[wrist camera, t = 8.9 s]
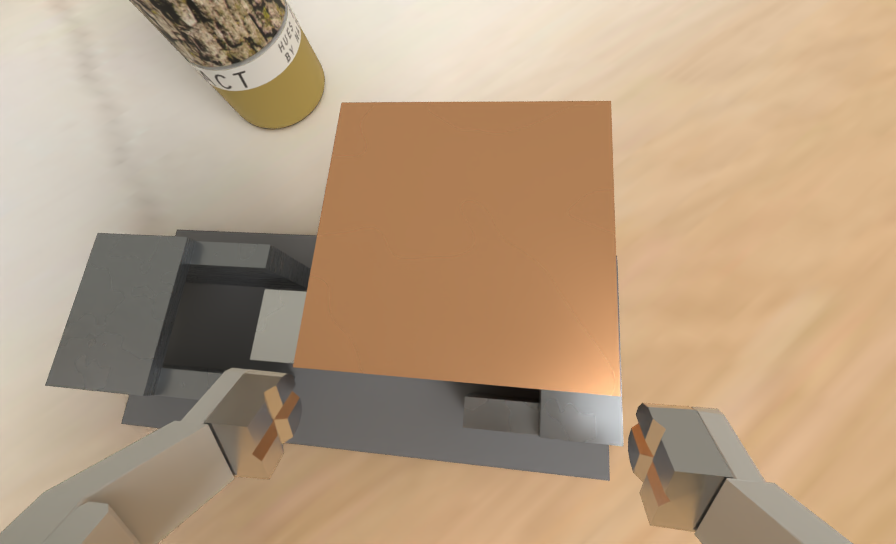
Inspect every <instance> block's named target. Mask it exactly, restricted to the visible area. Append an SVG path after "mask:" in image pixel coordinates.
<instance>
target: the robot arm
mask: <svg viewBox="0 0 896 544" xmlns="http://www.w3.org/2000/svg"><path fill="white" fill-rule="evenodd" d="M295 385H296V384H295V381H294V378H293V375H291V374H287V373H279V372H270V371H261V370H252V369H250V370H249V369H240V368H230V369H228V370H226V371H225V372H224V373H223V374H222V375H221V376H220V377H219V378H218V380H217V381H216V382H215V383H214V384H213V385H212V386H211V387H210V389H209V390H208V391H207V392H206V393H205V394H204V395H203V396H202V398H201V399H200V400H199V401H198V402H197V403H196V404H195V405H194V407H193V408H192V409H191V410H190V411H189V412H188V413H187V414H186V416H185V417H184V418H183V419H182V420H181V421H173V422H171V423H169V424H167V425H166V426H164V427H162V428H160V429H158V430H157V431H155V432H153V433H151V434H149V435H147V436H146V437H144V438H142V439H140V440H138V441H136V442H135V443H133V444H131V445H129V446H127V447H126V448H124V449H122V450H120V451H118V452H116V453H115V454H113V455H111V456H109V457H107V458H105V459H104V460H102V461H100V462H98V463H96V464H95V465H93V466H91V467H89V468H87V469H85V470H84V471H82V472H80V473H78V474H76V475H74V476H73V477H71V478H69V479H67V480H65V481H64V482H62V483H60V484H58V485H56V486H54V487H53V488H51V489H49V490H47V491H45V492H44V493H42V494H41V495H40V496H39V497H38V498H37V499H36V500H35V501H34V502H33V503H32V504H31V505H30V506H29V507H28V508H27V509H25V510H24V511H23V512H22V513H21V514H20V515H19V516H18V517H17V518H16V519H15V520H14V521H13V522H12V523H11V524H10V525H9V526H8V527H6V528H5V529H4V530H3V531H2V532H1V533H0V544H158V543H159V542H160V541H161V540H162V539H164V538H165V537H166V536H167V535H168V534H169V533H171V532H172V531H173V530H174V529H175V528H177V527H178V526H179V525H180V524H181V523H183V522H184V521H185V520H186V519H187V518H188V517H190V516H191V515H192V514H193V513H194V512H196V511H197V510H198V509H199V508H200V507H202V506H203V505H204V504H205V503H206V502H207V501H209V500H210V499H211V498H212V497H213V496H215V495H216V494H217V493H218V492H219V491H221V490H222V489H223V488H224V487H225V486H227V485H228V484H229V483H230V482H231V481H232V480H234V476H235V477H246V478H257V479H268V480H269V479H270V477H271V476H272V474H273V472H274V470H275V468H276V467H277V465H278V463H279V461H280V459H281V458H282V456H283V454H284V451H283V443H285V442H286V441H288V440H289V439H290V438H292V437H293V436H294V434H295V432H296V430H297V428H298V426H299V423H300V419H301V415H302V404H301V400H300V397H299V396H297V395H296V394H295V393H294V392H293V391H292V390H293V389H294V387H295ZM636 416H637V419H638V422H639V423H638V424H637V425H635V426H634V427H632V428H631V431H630V435H629V438H628V452H629V458H630V463H631V466H632V470H633V473H634V474H635V475H636V476H637V477H638V478H639V479H640V480H641V481H642V482H643V485H642V488H641V490H640V496H641V499H642V502H643V505H644V508H645V511H646V514H647V518H648V521H649V524H650V525H651V526H658V527H664V528H671V529H678V530H685V531H691V532H695V536H696V537H697V538H698V539H699V540H700V542H701V543H702V544H853V543H852V542H850V541H849V540H848V539H846V538H845V537H844V536H842V535H841V534H840V533H839V532H837V531H836V530H835V529H833V528H832V527H831V526H829V525H828V524H827V523H826V522H824V521H823V520H822V519H820V518H819V517H818V516H816V515H815V514H814V513H813V512H811V511H810V510H809V509H807V508H806V507H805V506H803V505H802V504H801V503H800V502H798V501H797V500H796V499H794V498H793V497H792V496H790V495H789V494H788V493H787V492H785V491H784V490H783V489H781V488H780V487H779V486H777V485H776V484H775V483H770V482H766V481H765V480H764V478H763V477H762V475H761V473H760V472H759V470H758V469H757V467H756V465H755V464H754V462H753V461H752V459H751V457H750V456H749V454H748V453H747V451H746V449H745V448H744V446H743V444H742V443H741V441H740V440H739V438H738V436H737V435H736V433H735V432H734V430H733V428H732V427H731V425H730V424H729V422H728V420H727V419H726V417H725V416H724V414H723V413H722V412H721V411H720V410H718V409H714V408H701V407H689V406H677V405H664V404H650V403H642V404H641V405H640V406H639V407H638V410H637V413H636Z"/></svg>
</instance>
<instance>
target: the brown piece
mask: <svg viewBox="0 0 896 544" xmlns="http://www.w3.org/2000/svg"><path fill="white" fill-rule="evenodd" d="M250 360H260V361H271V362H283V363H294V364H293V367H296V368H307V369H318V370H330V371H341V372H352V373H363V374H374V375H386V376H397V377H408V378H419V379H431V380H442V381H453V382H464V383H475V384H487V385H498V386H509V387H520V388H531V389H543V390H554V391H565V392H576V393H587V394H599V395H610V396H621V392H620V362H619V331H618V301H617V271H616V240H615V210H614V179H613V149H612V118H611V101H538V102H366V103H342V104H341V109H340V114H339V120H338V125H337V131H336V136H335V142H334V147H333V152H332V158H331V163H330V169H329V174H328V179H327V185H326V190H325V196H324V201H323V207H322V212H321V217H320V223H319V228H318V234H317V239H316V244H315V250H314V255H313V261H312V266H311V271H310V277H309V282H308V288H307V292H303V291H287V290H271V289H265V291H264V296H263V300H262V305H261V310H260V314H259V319H258V324H257V328H256V333H255V338H254V342H253V347H252V352H251V356H250Z"/></svg>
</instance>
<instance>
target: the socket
mask: <svg viewBox="0 0 896 544" xmlns="http://www.w3.org/2000/svg"><path fill="white" fill-rule="evenodd" d="M616 271H617V301H618V331H619V362H620V392H621V396H610V395H599V394H587V393H576V392H565V391H554V390H543V389H539V399H538V398H527V397H517V396H506V395H495V394H484V393H473V392H471V393H469V394H468V395H466V396H465V402H464V417H463V428H473V429H482V430H492V431H501V432H511V433H521V434H530V435H539V437H540V438H548V439H558V440H567V441H577V442H586V443H596V444H605V445H615V446H623V415H622V385H621V355H620V325H619V296H618V266H617V256H616Z"/></svg>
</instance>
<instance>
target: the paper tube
mask: <svg viewBox="0 0 896 544" xmlns="http://www.w3.org/2000/svg"><path fill="white" fill-rule="evenodd" d="M130 1H131V2H132V3H133V4H134V5H135V7H136V8H137V9H138V10H139V11H140V12H141V13H142V14H143V15H144V16H145V17H146V18H147V19H148V20H149V21H150V22H151V23H152V24H153V25H154V26H155V27H156V28H157V29H158V31H159V32H160V33H161V34H162V35H163V36H164V37H165V38H166V39H167V40H168V41H169V42H170V43H171V44H172V45H173V46H174V47H175V48H176V49H177V50H178V51H179V52H180V53H181V55H182V56H183V57H185V59H186V60H187V61H188V62H189V63H190V64H191V65H192V66H193V67H194V68H195V69H196V70H197V71H198V72H199V73H200V74H201V75H202V76H203V77H204V79H205V80H206V81H208V82H209V83H210V84H211V85H212V86H213V87H214V88H215V89H216V90H217V92H218V93H219V94H220V95H221V96H222V97H223V98H224V99H225V100H226V101H227V102H228V103H229V104H230V105H231V106H232V107H233V108H234V109H235V110H236V111H237V112H238V113H239V115H240V116H241V117H243V118H244V119H245V120H246V121H248V122H249V123H251V124H253V125H256V126H259V127H263V128H274V129H275V128H283V127H287V126H290V125H293V124H295V123H297V122H299V121H301V120H302V119H304V118H305V117H306V116H308V115H309V114H310V113H311V112H312V111H313V110H314V108H315V107H316V106H317V104H318V103H319V101H320V99H321V96H322V93H323V89H324V82H325V77H324V72H323V69H322V66H321V64H320V62H319V60H318V58H317V57H316V55H315V53H314V51H313V49H312V47H311V46H310V44H309V42H308V40H307V38H306V36H305V34H304V33H303V31H302V29H301V27H300V25H299V23H298V21H297V19H296V17H295V15H294V13H293V12H292V10H291V8H290V6H289V4H288V2H287V1H286V0H130Z"/></svg>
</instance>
